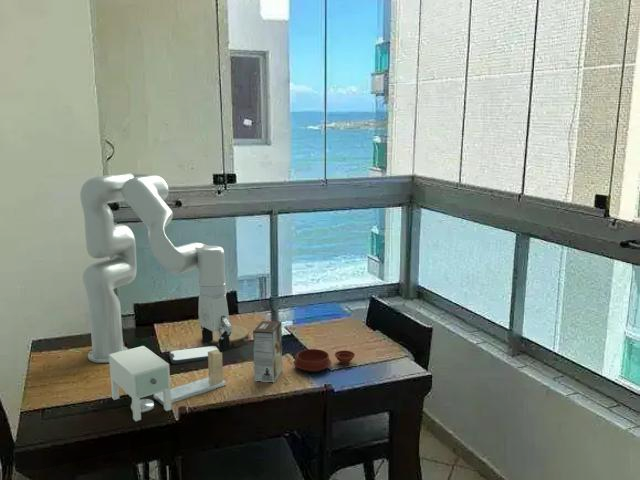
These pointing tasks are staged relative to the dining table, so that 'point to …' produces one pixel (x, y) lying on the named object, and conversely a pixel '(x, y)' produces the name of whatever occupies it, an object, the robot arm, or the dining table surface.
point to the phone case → (190, 354)
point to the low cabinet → (139, 376)
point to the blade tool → (199, 381)
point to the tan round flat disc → (231, 337)
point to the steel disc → (145, 405)
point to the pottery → (320, 359)
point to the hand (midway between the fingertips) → (216, 346)
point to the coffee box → (267, 351)
